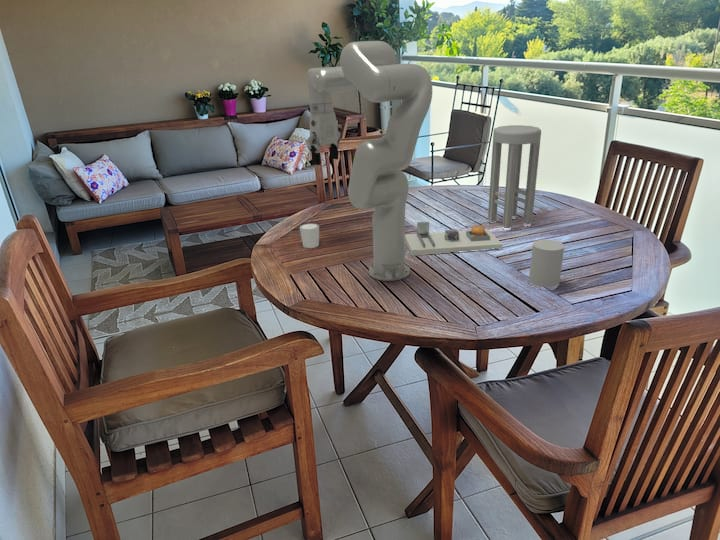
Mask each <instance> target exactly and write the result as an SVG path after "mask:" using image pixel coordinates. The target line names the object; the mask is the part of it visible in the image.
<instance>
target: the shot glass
mask: <svg viewBox="0 0 720 540" xmlns="http://www.w3.org/2000/svg"><path fill="white" fill-rule="evenodd" d="M299 232H300V237H301V243H302V247H303V248H305V249H314V248H317V247H318V246H319V245H320V225H319V224H317V223H304V224H302V225H301V224H300V226H299Z"/></svg>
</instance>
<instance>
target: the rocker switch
mask: <svg viewBox="0 0 720 540" xmlns="http://www.w3.org/2000/svg"><path fill="white" fill-rule="evenodd" d="M458 231H459V230H456V229H447V230H446V229H445V230H444V232H445V233H446V234H447V237H453V236H457V235H459V232H458Z"/></svg>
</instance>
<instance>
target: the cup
mask: <svg viewBox="0 0 720 540" xmlns="http://www.w3.org/2000/svg"><path fill="white" fill-rule="evenodd" d="M564 252H565V244H564V243H563V242H560V241H558V240H555V239H554V240H553V239H538V240H535V241H533V242H532V248H531V258H530V267H529V278H528V282H529V281H530V282H531V283H532V284H534V285H537V286H543V287H551V286H555V285H557V284H559V285H560V283H561V273H562V266H563V260H564ZM559 282H560V283H559Z"/></svg>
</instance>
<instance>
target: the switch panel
mask: <svg viewBox="0 0 720 540" xmlns="http://www.w3.org/2000/svg"><path fill="white" fill-rule="evenodd" d="M471 230H472V229H469V230H457V231H458V232H459V235H457V236H453V237H447V234H446V233H445V231H441V232H439V231H437V232H429V233H426V234H427V238H422V237H421V236H420V234H418V233H417V232H416V233H412V234H411V233H409V234H408V233H407V234H406V233H405V245H406V247H407V248H408V251H409V253H410V255H411V257H418V255H419V256H428V255H427V254H434V255H442V254H441V253H449V254H451V253H450V252H459V251H471V250H481V249H492V248H502V249H503V243H502V242H501V241H500V240H499V239H498V238H497V237H496V235H494V234H493V232H492V231H491V230H489V228H485V234H484V235H473V234H472V233H471Z"/></svg>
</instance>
